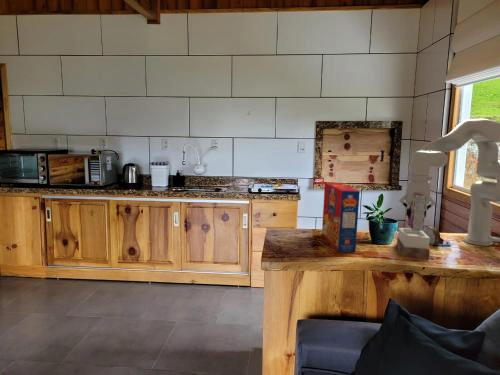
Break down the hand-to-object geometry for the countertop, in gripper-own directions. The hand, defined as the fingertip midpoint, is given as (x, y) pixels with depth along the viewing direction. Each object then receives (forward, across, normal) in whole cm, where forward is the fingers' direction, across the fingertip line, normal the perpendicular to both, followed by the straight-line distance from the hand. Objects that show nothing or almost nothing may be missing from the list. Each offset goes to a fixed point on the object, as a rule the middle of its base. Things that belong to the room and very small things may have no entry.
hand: (415, 217), depth 171 cm
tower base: (+17, 0, 0) cm, 17 cm away
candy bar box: (+5, 0, 0) cm, 5 cm away
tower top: (+12, 0, 0) cm, 12 cm away
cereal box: (+16, +34, +2) cm, 38 cm away
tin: (+16, -9, -20) cm, 27 cm away
